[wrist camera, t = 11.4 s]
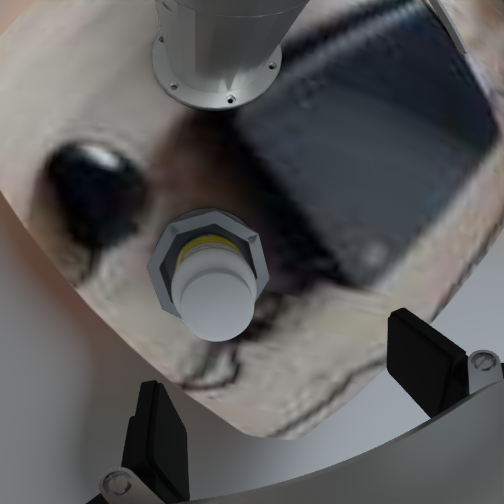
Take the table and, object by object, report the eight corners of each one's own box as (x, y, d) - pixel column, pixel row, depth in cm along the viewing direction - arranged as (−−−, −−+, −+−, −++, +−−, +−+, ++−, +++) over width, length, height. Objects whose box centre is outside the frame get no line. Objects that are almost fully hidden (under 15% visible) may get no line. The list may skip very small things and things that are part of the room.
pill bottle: (218, 304, 30) (230, 366, 20) (165, 271, 28) (148, 322, 18) (254, 253, 30) (285, 295, 19) (200, 217, 28) (202, 241, 17)
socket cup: (141, 226, 28) (133, 232, 24) (245, 195, 29) (251, 198, 25) (174, 321, 31) (172, 339, 27) (269, 293, 32) (279, 308, 28)
